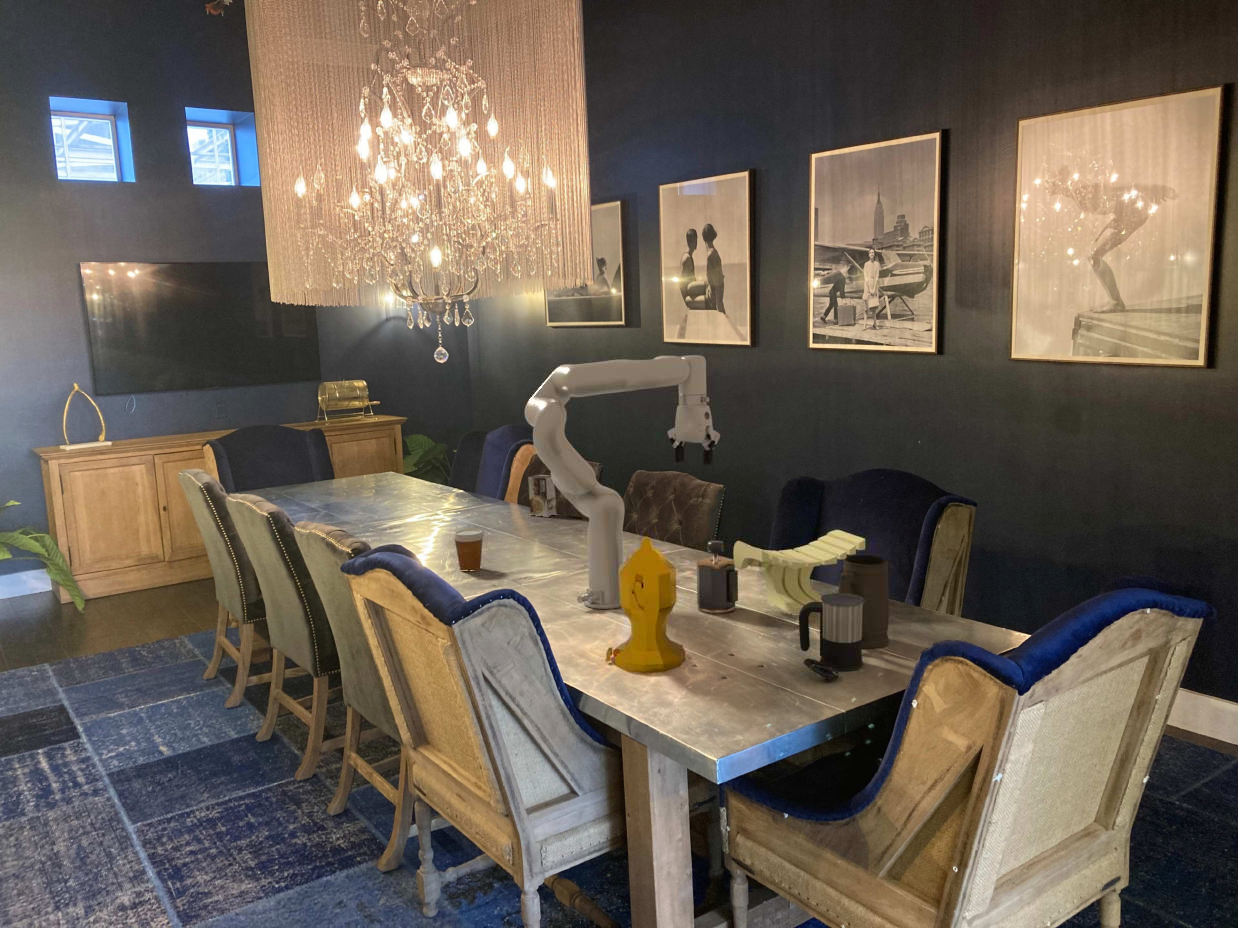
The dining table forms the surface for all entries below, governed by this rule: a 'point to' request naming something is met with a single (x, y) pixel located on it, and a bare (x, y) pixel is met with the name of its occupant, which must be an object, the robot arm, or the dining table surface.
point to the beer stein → (869, 595)
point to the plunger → (715, 549)
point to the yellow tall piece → (647, 612)
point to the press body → (716, 586)
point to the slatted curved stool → (796, 567)
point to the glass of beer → (469, 548)
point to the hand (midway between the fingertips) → (693, 462)
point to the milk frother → (834, 633)
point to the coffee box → (542, 495)
